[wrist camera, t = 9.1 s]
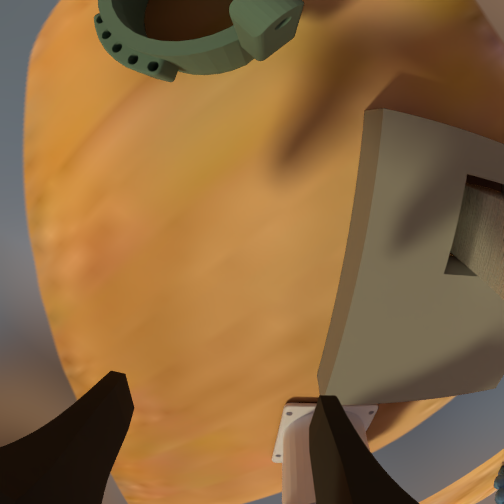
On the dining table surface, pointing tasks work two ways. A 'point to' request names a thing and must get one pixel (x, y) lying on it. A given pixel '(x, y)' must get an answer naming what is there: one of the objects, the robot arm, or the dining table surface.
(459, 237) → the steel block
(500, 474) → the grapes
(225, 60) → the bracket
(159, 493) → the dining table surface
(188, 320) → the dining table surface
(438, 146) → the well board
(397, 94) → the dining table surface
